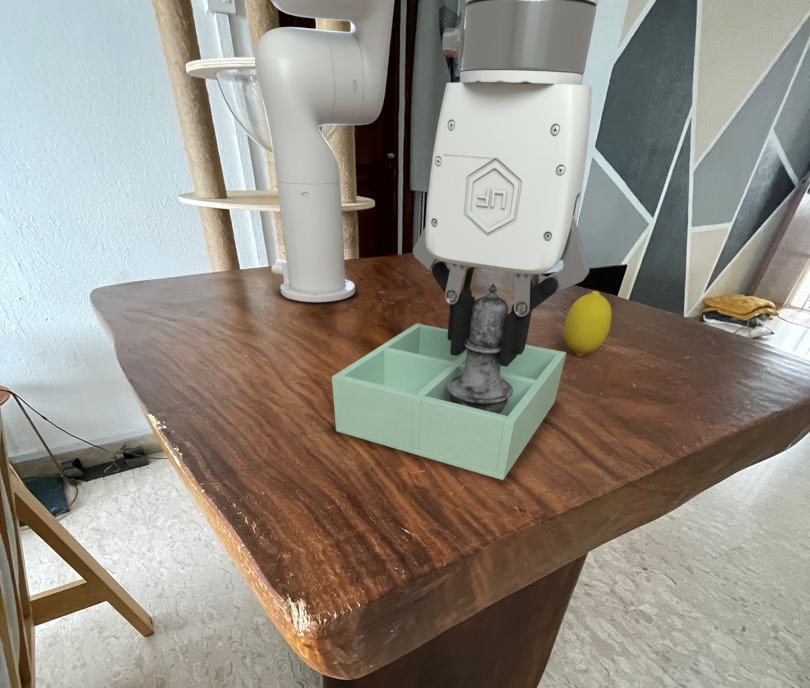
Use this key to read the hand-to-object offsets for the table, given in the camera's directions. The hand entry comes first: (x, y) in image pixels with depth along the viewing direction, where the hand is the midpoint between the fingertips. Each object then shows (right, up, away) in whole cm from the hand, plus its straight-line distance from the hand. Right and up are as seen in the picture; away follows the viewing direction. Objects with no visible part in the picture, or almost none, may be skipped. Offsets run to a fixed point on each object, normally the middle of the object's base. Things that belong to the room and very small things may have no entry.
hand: (484, 353), depth 42 cm
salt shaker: (0, -5, +5) cm, 7 cm away
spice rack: (-2, -3, +10) cm, 10 cm away
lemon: (+16, +8, +23) cm, 30 cm away
